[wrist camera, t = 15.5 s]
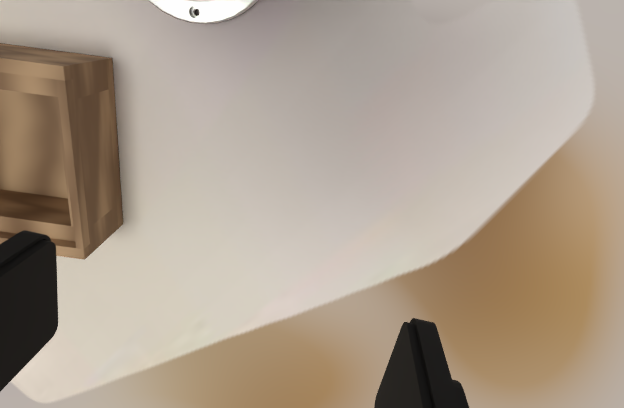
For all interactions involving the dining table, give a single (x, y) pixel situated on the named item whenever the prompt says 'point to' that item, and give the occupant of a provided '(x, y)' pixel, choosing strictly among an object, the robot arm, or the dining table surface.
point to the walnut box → (58, 148)
